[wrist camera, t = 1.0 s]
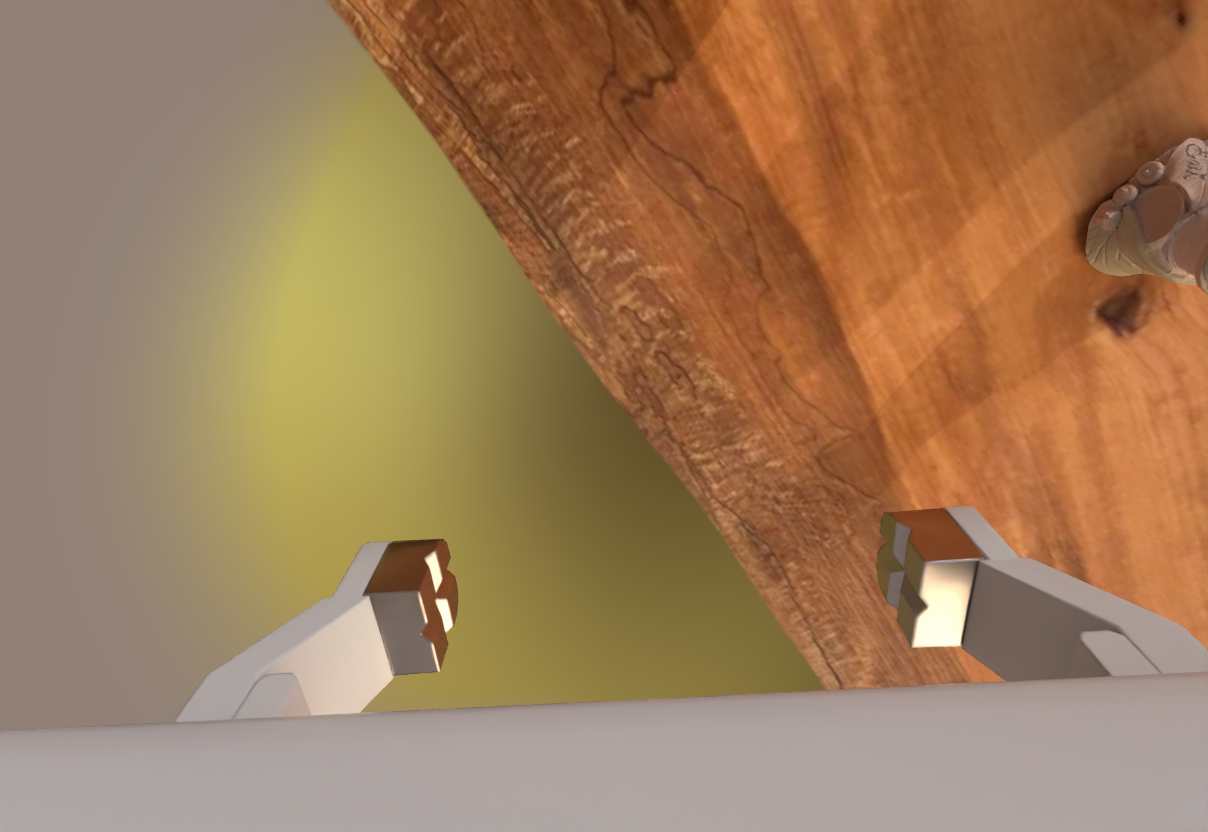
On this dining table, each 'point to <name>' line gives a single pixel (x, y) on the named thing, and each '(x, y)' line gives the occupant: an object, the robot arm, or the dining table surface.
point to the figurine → (1157, 220)
